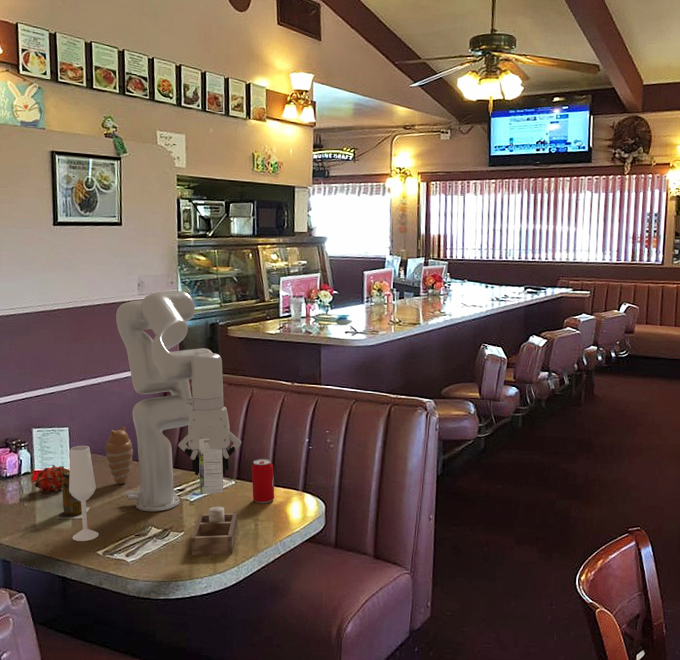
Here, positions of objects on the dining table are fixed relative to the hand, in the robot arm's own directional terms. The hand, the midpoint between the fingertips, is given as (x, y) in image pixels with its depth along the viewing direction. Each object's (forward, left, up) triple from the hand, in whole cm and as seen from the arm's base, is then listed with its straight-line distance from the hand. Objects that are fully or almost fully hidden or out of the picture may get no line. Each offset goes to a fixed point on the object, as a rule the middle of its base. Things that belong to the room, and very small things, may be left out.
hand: (211, 472), depth 198 cm
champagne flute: (-35, +10, -20) cm, 41 cm away
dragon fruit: (-55, +47, -20) cm, 75 cm away
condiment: (-43, +27, -20) cm, 54 cm away
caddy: (0, +3, -20) cm, 20 cm away
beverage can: (+11, +32, -20) cm, 39 cm away
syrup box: (0, 0, -5) cm, 5 cm away
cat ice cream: (-35, +52, -20) cm, 66 cm away
